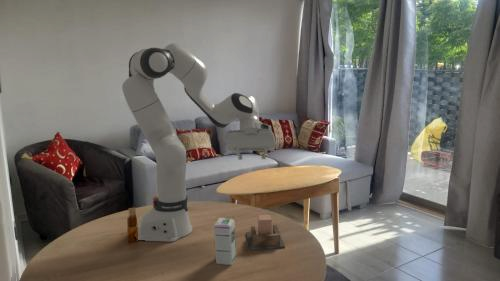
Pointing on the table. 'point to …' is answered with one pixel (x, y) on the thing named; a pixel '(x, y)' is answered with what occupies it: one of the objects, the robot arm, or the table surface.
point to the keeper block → (264, 224)
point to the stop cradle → (264, 239)
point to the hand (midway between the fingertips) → (252, 158)
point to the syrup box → (225, 241)
